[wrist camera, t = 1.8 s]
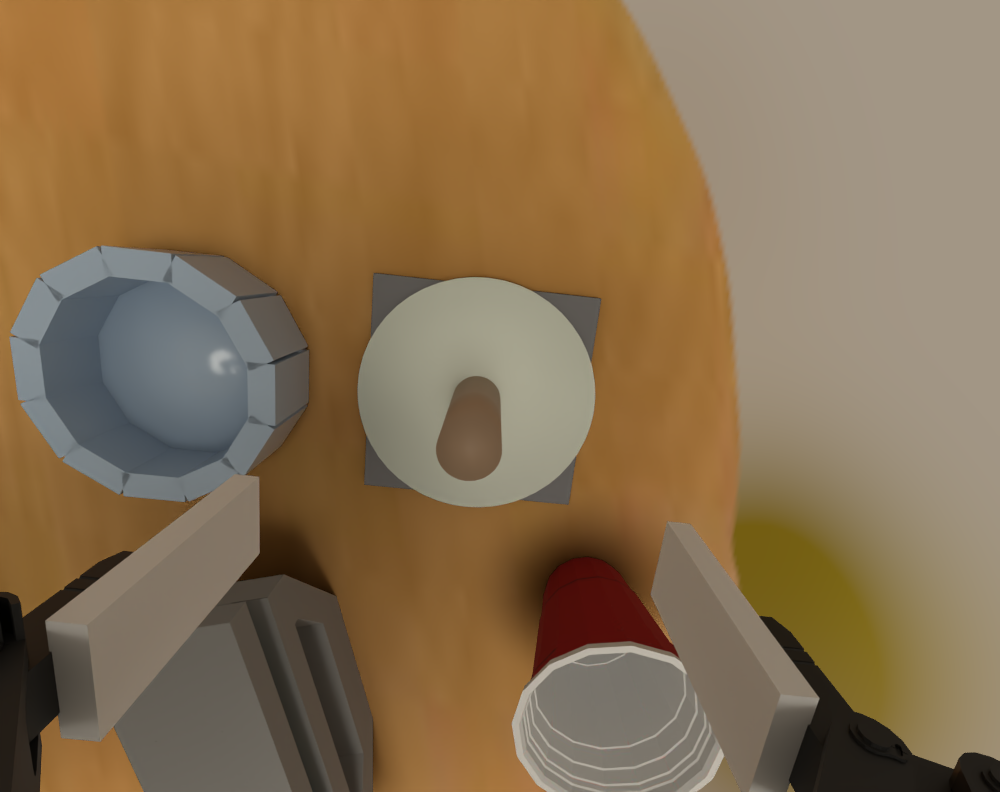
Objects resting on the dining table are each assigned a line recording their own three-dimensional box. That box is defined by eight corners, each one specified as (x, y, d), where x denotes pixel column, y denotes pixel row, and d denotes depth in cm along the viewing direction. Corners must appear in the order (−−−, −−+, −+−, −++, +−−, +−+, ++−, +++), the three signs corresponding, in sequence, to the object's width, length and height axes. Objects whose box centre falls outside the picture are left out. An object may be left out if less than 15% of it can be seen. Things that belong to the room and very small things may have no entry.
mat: (366, 481, 34) (364, 484, 33) (375, 273, 30) (373, 273, 30) (567, 501, 34) (568, 504, 34) (599, 298, 31) (601, 298, 30)
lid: (356, 490, 33) (301, 578, 24) (365, 263, 30) (304, 261, 20) (574, 511, 34) (605, 606, 24) (610, 291, 30) (663, 302, 21)
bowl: (99, 455, 33) (30, 487, 28) (77, 239, 30) (-6, 233, 25) (307, 475, 34) (275, 510, 29) (310, 265, 30) (274, 264, 25)
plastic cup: (512, 519, 34) (520, 647, 23) (664, 527, 35) (748, 657, 23) (502, 648, 37) (505, 821, 26) (643, 655, 37) (710, 828, 26)
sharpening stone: (204, 531, 35) (75, 646, 24) (311, 513, 34) (229, 622, 24) (300, 796, 41) (231, 979, 30) (392, 783, 41) (355, 964, 30)
